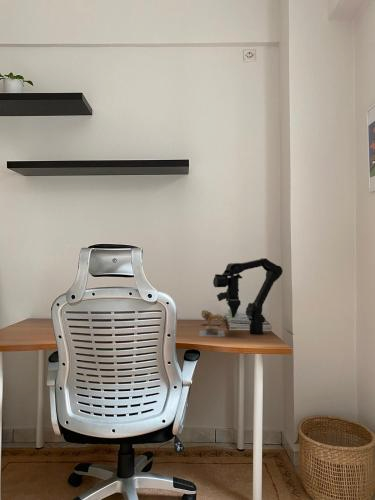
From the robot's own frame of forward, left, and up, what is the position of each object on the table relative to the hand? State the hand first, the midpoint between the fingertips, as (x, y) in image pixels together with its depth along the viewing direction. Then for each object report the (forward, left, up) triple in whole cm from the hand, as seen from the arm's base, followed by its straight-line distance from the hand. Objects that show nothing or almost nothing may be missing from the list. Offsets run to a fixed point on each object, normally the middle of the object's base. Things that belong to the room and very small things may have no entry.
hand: (232, 316), depth 201 cm
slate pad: (+11, 0, -9) cm, 14 cm away
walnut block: (+11, 0, -9) cm, 14 cm away
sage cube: (0, 0, -1) cm, 1 cm away
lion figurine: (+10, -27, -10) cm, 30 cm away
